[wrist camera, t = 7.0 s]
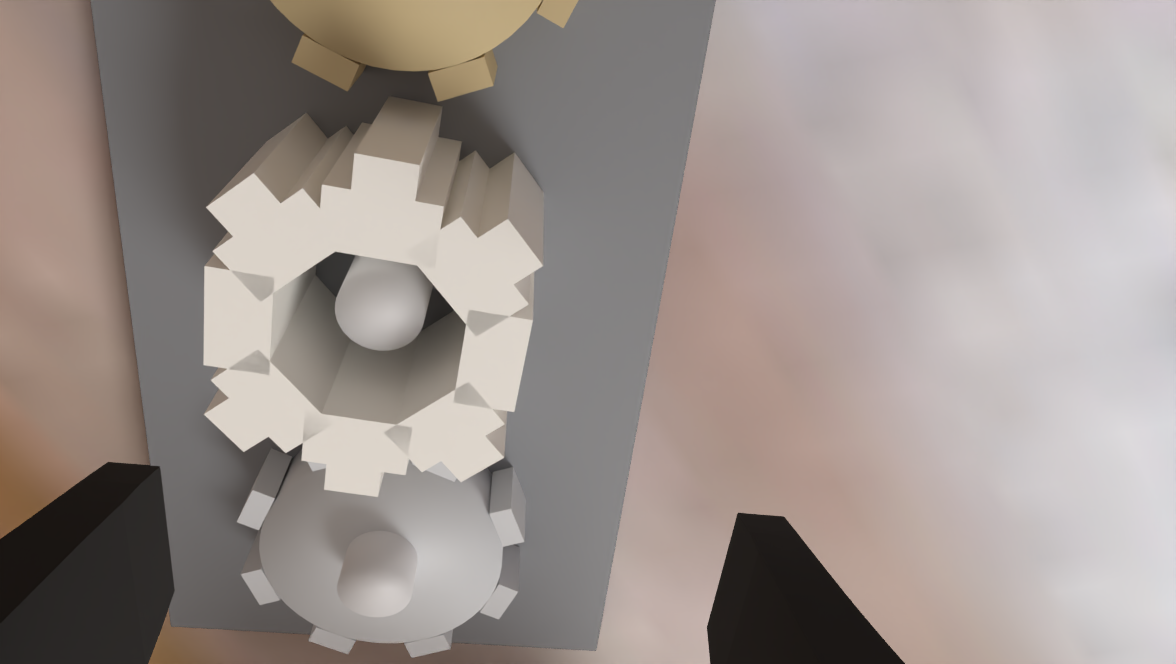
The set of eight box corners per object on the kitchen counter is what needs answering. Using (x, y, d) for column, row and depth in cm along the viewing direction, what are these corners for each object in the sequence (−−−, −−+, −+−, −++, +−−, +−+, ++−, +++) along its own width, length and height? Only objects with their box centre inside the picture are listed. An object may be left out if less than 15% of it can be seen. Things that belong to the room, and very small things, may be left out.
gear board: (768, -354, 15) (831, -408, 11) (594, 622, 25) (601, 738, 22) (60, -472, 14) (-92, -569, 10) (184, 597, 24) (128, 716, 21)
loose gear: (557, 128, 17) (559, 190, 14) (501, 411, 20) (493, 512, 17) (268, 72, 17) (206, 125, 14) (256, 374, 20) (202, 472, 17)
